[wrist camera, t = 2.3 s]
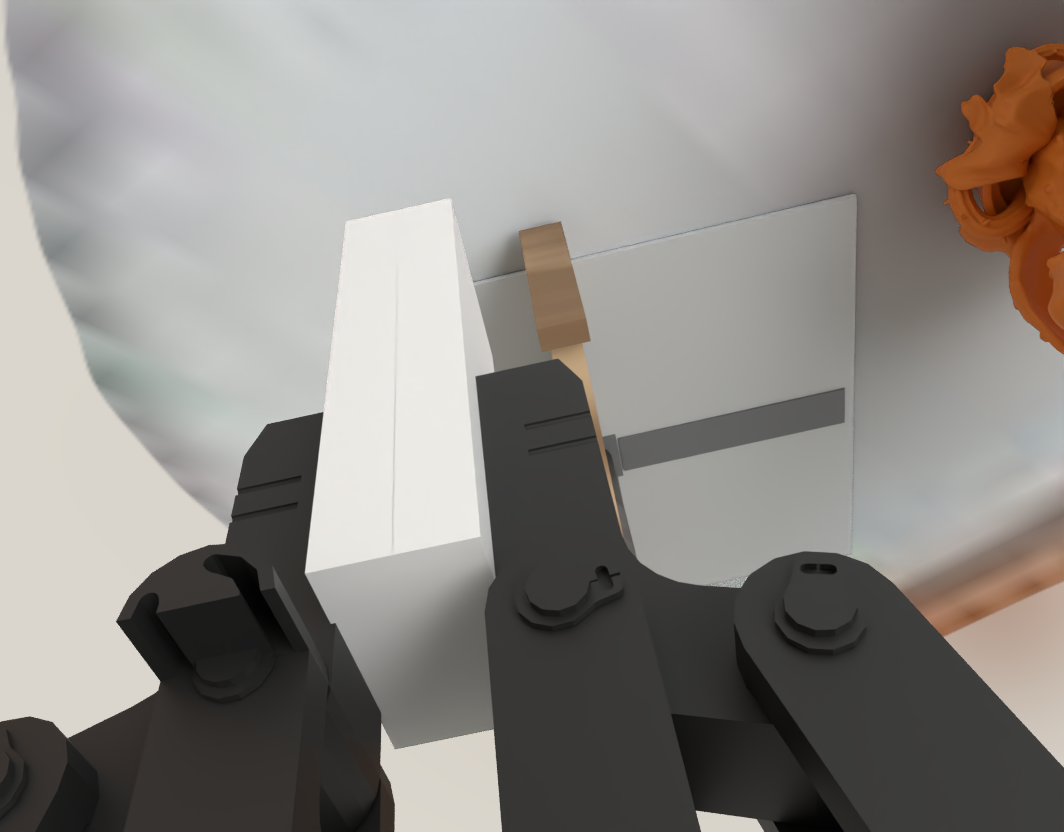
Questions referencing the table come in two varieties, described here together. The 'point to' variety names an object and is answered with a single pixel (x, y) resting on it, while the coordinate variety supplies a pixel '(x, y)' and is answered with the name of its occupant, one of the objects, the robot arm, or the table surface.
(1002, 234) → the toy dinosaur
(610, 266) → the board
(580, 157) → the table surface
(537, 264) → the fence panel hinged
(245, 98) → the table surface
